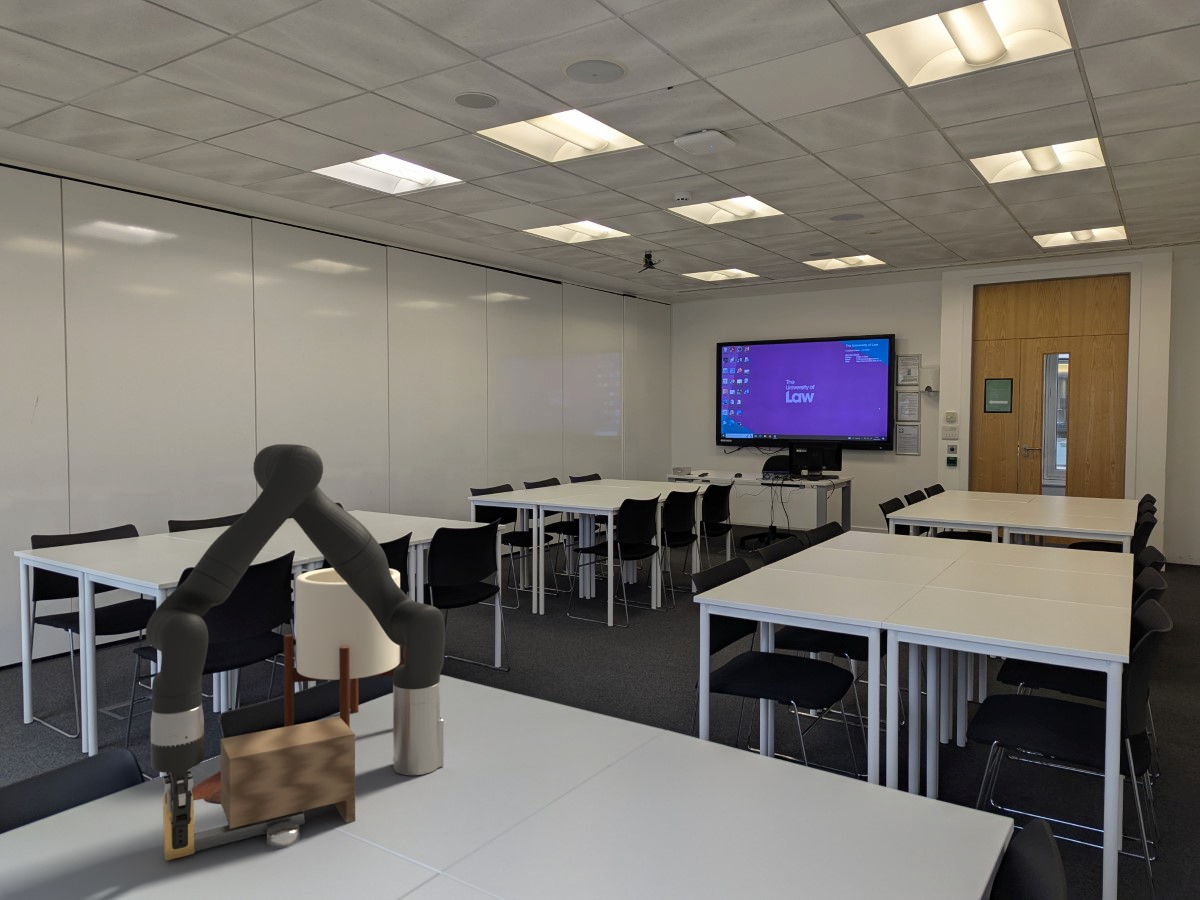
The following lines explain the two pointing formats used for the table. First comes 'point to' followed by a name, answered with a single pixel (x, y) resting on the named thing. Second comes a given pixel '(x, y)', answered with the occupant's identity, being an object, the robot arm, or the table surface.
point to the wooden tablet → (209, 789)
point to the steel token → (283, 835)
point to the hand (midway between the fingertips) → (178, 840)
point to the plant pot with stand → (335, 640)
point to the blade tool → (216, 832)
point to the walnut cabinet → (288, 771)
